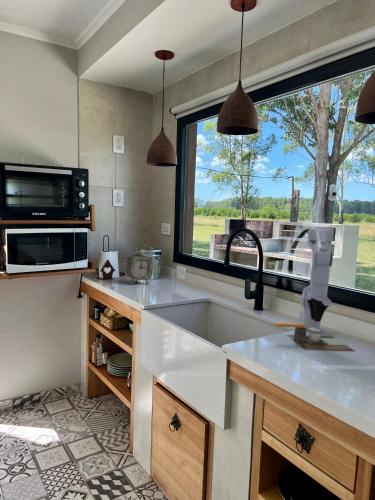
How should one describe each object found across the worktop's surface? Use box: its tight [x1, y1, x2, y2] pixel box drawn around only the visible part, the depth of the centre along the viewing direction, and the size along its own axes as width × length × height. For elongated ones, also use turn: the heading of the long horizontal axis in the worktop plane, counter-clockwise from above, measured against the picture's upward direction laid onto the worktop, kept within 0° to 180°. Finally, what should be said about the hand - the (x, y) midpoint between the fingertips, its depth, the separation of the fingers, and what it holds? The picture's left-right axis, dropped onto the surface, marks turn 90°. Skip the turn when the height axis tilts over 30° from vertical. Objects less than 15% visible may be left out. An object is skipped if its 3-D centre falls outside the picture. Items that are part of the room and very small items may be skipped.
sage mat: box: [320, 337, 348, 346], centre depth 138 cm, size 7×7×1 cm
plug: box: [307, 328, 321, 342], centre depth 136 cm, size 4×4×5 cm
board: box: [286, 327, 356, 352], centre depth 136 cm, size 16×19×6 cm
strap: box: [274, 321, 307, 328], centre depth 134 cm, size 2×12×1 cm, turn 98°
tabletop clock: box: [125, 243, 154, 286], centre depth 226 cm, size 14×9×25 cm, turn 119°
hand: (315, 320), depth 135 cm, fingers closed
